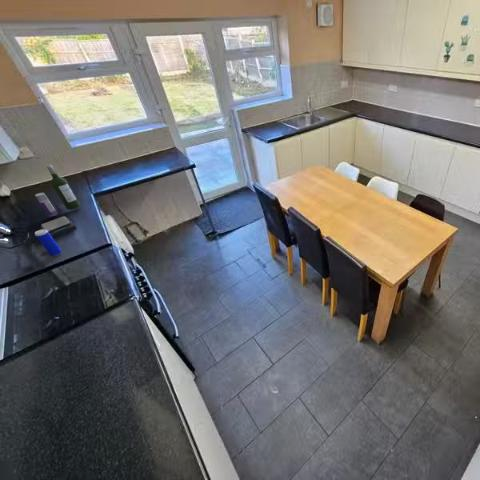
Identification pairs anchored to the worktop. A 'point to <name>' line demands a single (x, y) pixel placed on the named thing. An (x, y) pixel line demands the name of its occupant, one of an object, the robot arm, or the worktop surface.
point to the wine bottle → (63, 190)
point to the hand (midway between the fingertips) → (9, 237)
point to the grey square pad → (55, 224)
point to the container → (46, 204)
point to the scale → (62, 229)
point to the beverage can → (48, 242)
